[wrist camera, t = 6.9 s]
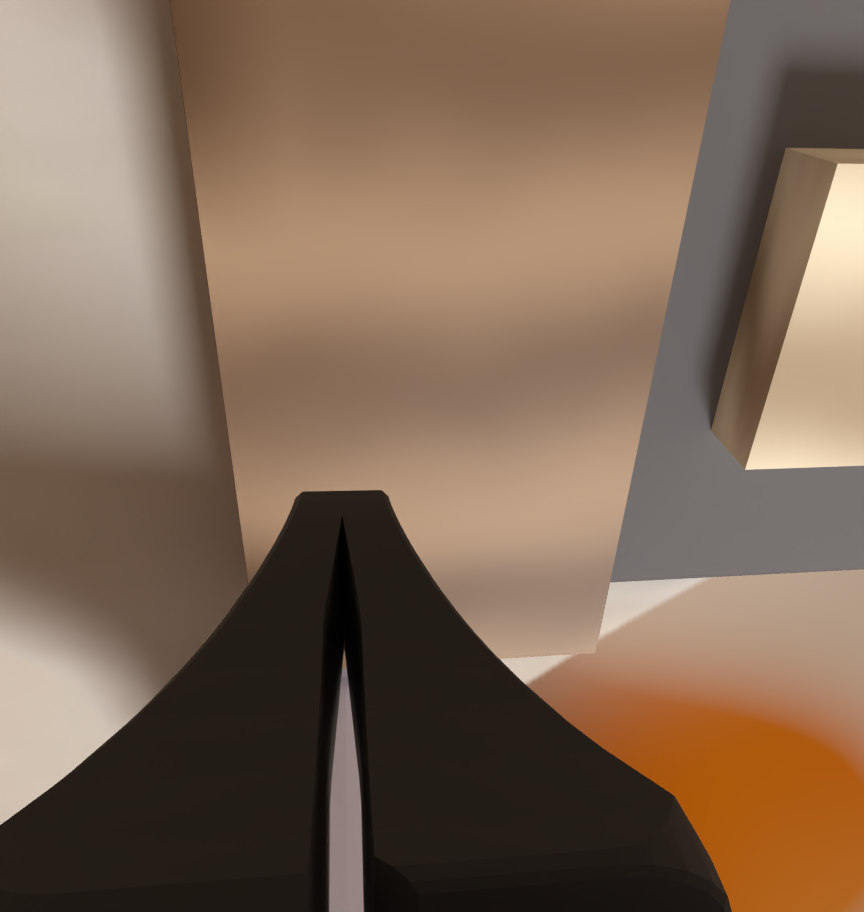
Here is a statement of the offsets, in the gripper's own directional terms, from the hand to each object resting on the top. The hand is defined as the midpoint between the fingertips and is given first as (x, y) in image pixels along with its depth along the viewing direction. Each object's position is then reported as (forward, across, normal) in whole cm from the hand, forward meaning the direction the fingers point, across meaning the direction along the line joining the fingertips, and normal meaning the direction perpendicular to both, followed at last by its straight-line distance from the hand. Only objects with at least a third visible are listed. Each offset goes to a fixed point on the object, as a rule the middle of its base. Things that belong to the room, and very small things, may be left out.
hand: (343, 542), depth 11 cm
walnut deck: (+9, -2, 0) cm, 10 cm away
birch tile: (+7, -14, -1) cm, 16 cm away
